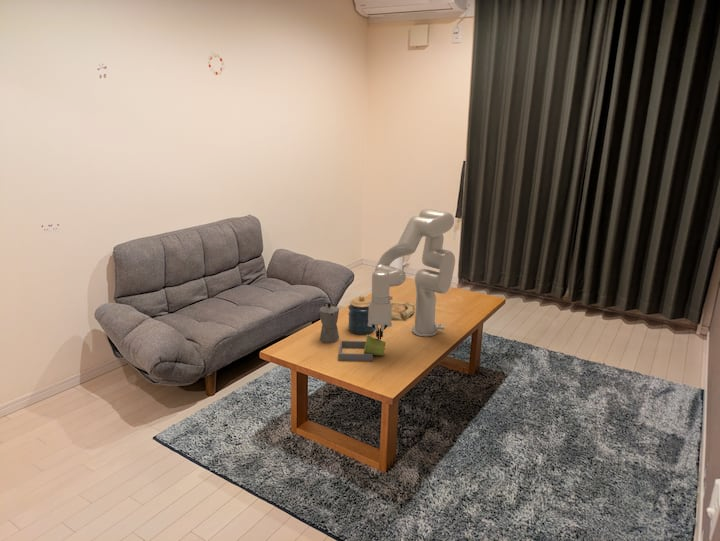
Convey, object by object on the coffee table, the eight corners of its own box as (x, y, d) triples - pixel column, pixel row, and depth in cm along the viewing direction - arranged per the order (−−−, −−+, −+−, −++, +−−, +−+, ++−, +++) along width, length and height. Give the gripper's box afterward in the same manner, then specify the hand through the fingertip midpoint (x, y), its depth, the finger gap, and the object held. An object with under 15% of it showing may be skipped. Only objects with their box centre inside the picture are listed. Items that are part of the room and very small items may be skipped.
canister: (373, 335, 248) (374, 300, 243) (347, 334, 249) (347, 300, 243) (374, 324, 260) (375, 291, 255) (349, 323, 261) (349, 291, 256)
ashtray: (425, 313, 277) (426, 304, 276) (396, 325, 261) (397, 316, 259) (392, 301, 293) (392, 293, 292) (363, 312, 277) (363, 304, 275)
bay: (373, 347, 235) (373, 341, 234) (372, 361, 222) (372, 354, 221) (340, 346, 235) (340, 340, 235) (338, 360, 222) (338, 354, 222)
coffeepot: (342, 343, 239) (342, 307, 233) (322, 345, 236) (322, 309, 231) (335, 330, 253) (334, 296, 248) (316, 332, 250) (315, 297, 245)
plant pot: (387, 335, 224) (368, 331, 225) (383, 355, 220) (363, 351, 220) (385, 342, 233) (366, 338, 233) (381, 362, 229) (362, 357, 229)
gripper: (397, 296, 224) (395, 335, 229) (363, 295, 224) (362, 334, 230) (398, 302, 217) (396, 342, 222) (362, 301, 217) (362, 341, 223)
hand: (379, 338), depth 226 cm, fingers closed
